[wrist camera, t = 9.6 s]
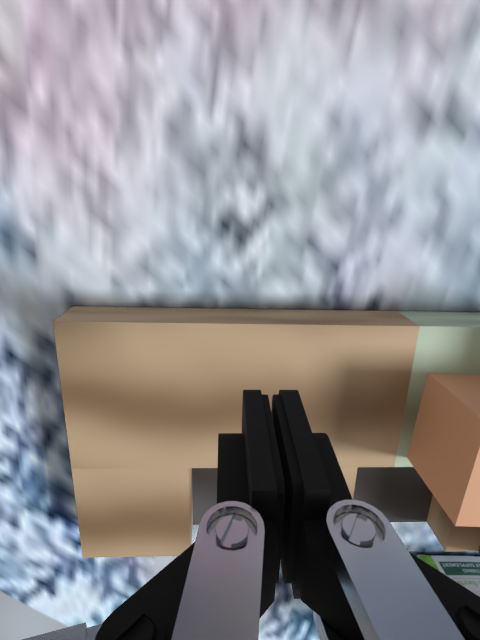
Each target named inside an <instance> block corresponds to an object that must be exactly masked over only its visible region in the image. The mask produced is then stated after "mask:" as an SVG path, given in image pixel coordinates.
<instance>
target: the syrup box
mask: <svg viewBox="0 0 480 640" xmlns="http://www.w3.org/2000/svg"><path fill="white" fill-rule="evenodd" d="M416 557H418V558H419V559H421V560H423V561H424V562H426V563H427V564H429V565H430V566H432V567H434V568H435V569H437V570H438V571H440V572H441V573H443V574H445V575H446V576H448V577H449V578H451V579H452V580H454V581H456V582H457V583H459V584H460V585H462V586H463V587H465V588H467V589H468V590H470V591H471V592H473V593H474V594H476V595H478V596H479V597H480V556H476V557H475V556H439V555H416Z"/></svg>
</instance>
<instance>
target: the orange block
mask: <svg viewBox="0 0 480 640" xmlns="http://www.w3.org/2000/svg"><path fill="white" fill-rule="evenodd" d="M407 458H408V460H409V461H410V462H411V464H412V465H413V467H414V468H415V470H416V471H417V472H418V474H419V475H420V477H421V478H422V480H423V481H424V482H425V484H426V485H427V487H428V488H429V490H430V491H431V492H432V494H433V495H434V497H435V498H436V500H437V501H438V502H439V504H440V505H441V507H442V508H443V510H444V511H445V512H446V514H447V515H448V517H449V518H450V520H451V521H452V522H453V524H454V525H455V526H466V527H480V375H469V374H450V373H431V372H428V374H427V378H426V382H425V387H424V391H423V395H422V399H421V403H420V407H419V411H418V415H417V419H416V423H415V427H414V431H413V435H412V439H411V443H410V447H409V451H408V456H407Z"/></svg>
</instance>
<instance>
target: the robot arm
mask: <svg viewBox="0 0 480 640" xmlns="http://www.w3.org/2000/svg"><path fill="white" fill-rule="evenodd" d="M280 559H281V566H282V573H283V580H284V583H292V589H293V595H294V599H298V598H301V600H302V601H303V602H304V603H305V604H306V605H307V606H309V607H310V608H311V609H312V610H313V611H314V612H313V617H314V622H315V626H316V629H317V632H318V635H319V638H320V640H480V597H479V596H478V595H476V594H474V593H473V592H471V591H470V590H468V589H467V588H465V587H463V586H462V585H460V584H459V583H457V582H456V581H454V580H452V579H451V578H449V577H448V576H446V575H445V574H443V573H441V572H440V571H438V570H437V569H435V568H434V567H432V566H430V565H429V564H427V563H426V562H424V561H423V560H421V559H419V558H418V557H416V556H415V555H413V554H411V553H410V552H408V550H407V549H406V547H405V545H404V544H403V542H402V541H401V539H400V538H399V536H398V534H397V533H396V531H395V530H394V528H393V527H392V525H391V524H390V522H389V520H388V519H387V518H386V517H385V516H384V514H383V513H382V512H380V511H379V510H378V509H377V508H375V507H374V506H372V505H370V504H368V503H366V502H363V501H358V500H353V499H352V496H351V494H350V491H349V489H348V486H347V483H346V481H345V478H344V476H343V473H342V470H341V468H340V465H339V463H338V460H337V457H336V455H335V452H334V450H333V447H332V445H331V442H330V439H329V437H328V435H327V434H326V433H312V431H311V428H310V425H309V422H308V419H307V416H306V413H305V410H304V407H303V404H302V400H301V397H300V394H299V392H298V390H279V394H273V396H272V411H271V408H270V403H269V398H268V394H262V393H261V390H243V402H242V433H218V469H217V504H216V505H215V506H213V507H211V508H210V509H209V510H208V511H207V512H206V513H205V514H204V515H203V517H202V520H201V522H200V525H199V529H198V533H197V537H196V541H195V542H194V543H193V544H192V545H191V546H190V547H188V548H187V549H186V550H185V551H184V552H183V553H181V554H180V555H179V556H178V557H177V558H175V559H174V560H173V561H172V562H171V563H170V564H168V565H167V566H166V567H165V568H164V569H163V570H161V571H160V572H159V573H158V574H157V575H156V576H154V577H153V578H152V579H151V580H150V581H149V582H147V583H146V584H145V585H144V586H143V587H141V588H140V589H139V590H138V591H137V592H136V593H134V594H133V595H132V596H131V597H130V598H129V599H127V600H126V601H125V602H124V603H123V604H122V605H120V606H119V607H118V608H117V609H116V610H114V611H113V612H112V613H111V614H110V616H109V617H108V618H107V619H106V620H105V621H104V622H103V624H100V625H96V626H92V627H89V628H87V626H86V623H82V624H78V625H75V626H71V627H67V628H63V629H60V630H56V631H52V632H49V633H45V634H41V635H38V636H34V637H30V638H26V639H23V640H258V633H259V619H260V617H261V616H262V615H263V614H264V613H265V611H266V610H267V609H268V608H269V606H270V605H271V604H272V603H273V602H274V596H275V584H277V583H278V580H279V569H280Z"/></svg>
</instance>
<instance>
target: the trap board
mask: <svg viewBox="0 0 480 640" xmlns="http://www.w3.org/2000/svg"><path fill="white" fill-rule="evenodd" d="M53 327H54V335H55V343H56V351H57V359H58V367H59V374H60V382H61V390H62V398H63V406H64V414H65V422H66V429H67V437H68V445H69V453H70V461H71V469H72V477H73V485H74V492H75V500H76V508H77V516H78V524H79V532H80V540H81V547H82V555H83V557H141V556H179V555H180V554H181V553H183V552H184V551H185V550H186V549H187V548H188V547H190V546H191V537H192V526H193V524H200V522H201V520H202V517H203V515H204V514H205V513H206V512H207V511H208V510H209V509H210V508H211V507H213V506H215V505H216V504H217V469H218V433H242V402H243V390H261V393H262V394H268V398H269V403H270V408H271V411H272V396H273V394H279V390H298V392H299V394H300V397H301V400H302V404H303V407H304V410H305V413H306V416H307V419H308V422H309V425H310V428H311V431H312V433H326V434H327V435H328V437H329V439H330V442H331V445H332V447H333V450H334V452H335V455H336V457H337V460H338V463H339V465H340V468H341V470H342V473H343V476H344V478H345V481H346V483H347V486H348V489H349V491H350V494H351V496H352V499H353V500H358V501H363V502H366V503H368V504H370V505H372V506H374V507H375V508H377V509H378V510H379V511H380V512H382V513H383V514H384V516H385V517H386V518H387V519H388V520H389V522H427V523H428V525H429V526H430V528H431V529H432V531H433V533H434V534H435V536H436V537H437V539H438V541H439V542H440V544H441V545H442V547H443V549H444V550H445V551H479V553H480V527H466V526H455V525H454V524H453V522H452V521H451V520H450V518H449V517H448V515H447V514H446V512H445V511H444V510H443V508H442V507H441V505H440V504H439V502H438V501H437V500H436V498H435V497H434V495H433V494H432V492H431V491H430V490H429V488H428V487H427V485H426V484H425V482H424V481H423V480H422V478H421V477H420V475H419V474H418V472H417V471H416V470H415V468H414V467H413V465H412V464H411V462H410V461H409V460H408V458H407V456H408V451H409V447H410V443H411V439H412V435H413V431H414V427H415V423H416V419H417V415H418V411H419V407H420V403H421V399H422V395H423V391H424V387H425V382H426V378H427V374H428V372H431V373H450V374H469V375H480V312H426V311H360V310H293V309H226V308H159V307H92V306H73V307H71V308H70V309H69V310H67V311H66V312H65V313H63V314H62V315H61V316H59V317H58V318H57V319H55V320H54V321H53Z"/></svg>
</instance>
